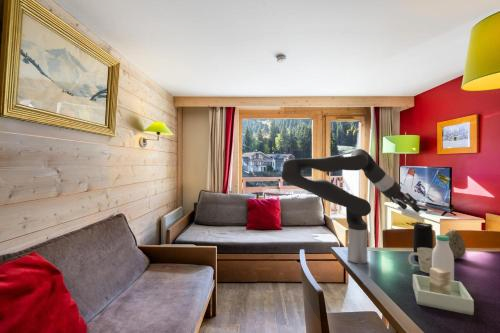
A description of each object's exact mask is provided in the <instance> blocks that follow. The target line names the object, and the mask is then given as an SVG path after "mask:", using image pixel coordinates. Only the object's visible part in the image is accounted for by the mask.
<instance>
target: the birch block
mask: <svg viewBox="0 0 500 333" xmlns="http://www.w3.org/2000/svg"><path fill="white" fill-rule="evenodd" d="M429 277H430V292H435V293H441V294H446V295H450V284H451V272H449V271H447V270H445V269H443V268H430V273H429Z"/></svg>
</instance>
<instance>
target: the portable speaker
mask: <svg viewBox="0 0 500 333" xmlns="http://www.w3.org/2000/svg"><path fill="white" fill-rule="evenodd" d="M432 227H433V226H432V224H431V223H425V222H421V221H420V222H419V221H417V222H414V224H413V234H412V236H413V238H412V243H413V244H412V246H413V247H412V248H413V253H418V252H417V248H421V247H424V248H431V249H434V243H433V242H434V240H433V239H434V235H433V228H432ZM413 259H414V260H415V261H419V259H418V255H413Z"/></svg>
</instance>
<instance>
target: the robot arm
mask: <svg viewBox="0 0 500 333" xmlns="http://www.w3.org/2000/svg"><path fill="white" fill-rule="evenodd" d="M305 169H306V170H307V169H313V170H317V171H320V172H325V173H331V172H332V173H333V172H339V171H363V174H364V175H365V177H366V178H367V180H369V182H371V183H372V185H373V186H374V187H375V188H376V189H377V190H379V192H380V193H381V194H382V195H383V196H384V197H385V198H388V199H389V200H390V201H391V202H392V203H394V204H396V205H398V206H399V207H400V208H401V209H402V210H406V209H407V208H408V206H409V207H410V208H411V209H412V210H413V211H414V212H416V214H417V213H420V211H421V210H422V209H421V207H420V206H419V205H417V204H418V201H417V200H416V199H415V198H414V197H413V196H412V195H411V194H409V193H408V192H406V193H404V192H402V190H401V188H402V187H401V185H400V183H398V182H397V181H396V180H395V179H394V178H393V177H392V176H391V175H390V174H388V173H387V172H386V171H385V170H384V169H383V168H381V166H379V165H378V164H377V162H376V161H375V159H374V158H373V157H372V156H371V154H370V153H369V152H367V151H366V150H364V149H362V148H357V149H355V150H353V151H352V153H351V156H344V155H343V154H337V155H336V154H335V155H330V156H326V157H316V158H315V157H314V158H313V157H311V158H292V159H288V160H285V162H283V165H282V171H281V179H282V180H283V182H285V183H286V184H289V185H292V186H294V187H295V188H299V189H301V190H304V191H307V192H309V193H311V194H313V195H316V196H317V197H318V198H320V199H323V200H324V201H327V202H329V203H332V204H335V205H338V206H342V207H344V208H345V211H346V212H345V214H346V217H345V218H346V223H347V227H348V228H347V230H348V232H347V240H348V241H347V261H348V262H350V263H354V264H366V263H368V224H367V222H366V221H365V220H364V218H363V217H367V216H368V215H369V214H371V211H372V206H371V204H370V202H369V201H368V200H366V199H365V198H361V197H359V196H356V195H354V194H353V193H352V194H351V193H350V192H348V191H346V190H345V189H343V188H341V187H340V186H338V185H337V184H334V183H333V182H331V181H329V180H327V179H323V178H321V179H310V178H309V179H308V178H307V177H305V176H303V175H302V171H303V170H305Z"/></svg>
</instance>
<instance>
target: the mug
mask: <svg viewBox="0 0 500 333" xmlns="http://www.w3.org/2000/svg"><path fill="white" fill-rule="evenodd" d="M433 250H434V248H433V249H431V248H424V247H421V248H417V252H418V253H414V252H411V253H409V255H408V256H407V261H408V263H409V265H411V266H413V267H419V270H420V272H423V273H425V274H430V268H432V253H433ZM414 255H418V259H419V260H418V259H417V260H418V264H414V263H413V262H412V257H414Z"/></svg>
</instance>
